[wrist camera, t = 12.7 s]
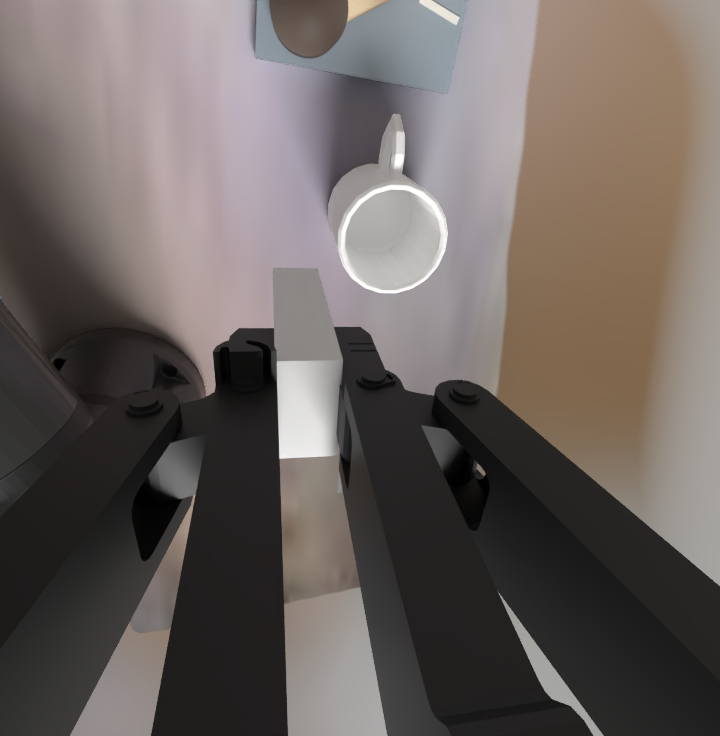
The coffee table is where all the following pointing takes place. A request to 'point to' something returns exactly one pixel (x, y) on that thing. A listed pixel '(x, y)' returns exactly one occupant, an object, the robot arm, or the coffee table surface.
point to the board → (383, 44)
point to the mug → (387, 221)
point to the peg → (315, 22)
